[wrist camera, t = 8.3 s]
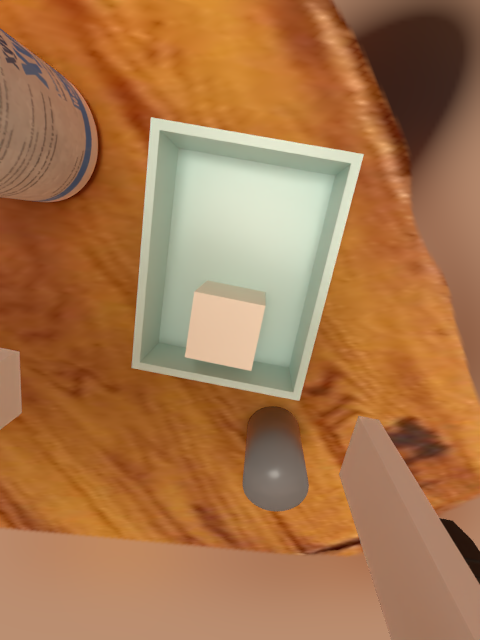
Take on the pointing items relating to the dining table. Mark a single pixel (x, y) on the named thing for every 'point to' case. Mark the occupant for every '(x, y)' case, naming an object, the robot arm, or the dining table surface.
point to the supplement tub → (41, 129)
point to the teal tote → (239, 246)
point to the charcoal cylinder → (274, 461)
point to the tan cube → (225, 324)
